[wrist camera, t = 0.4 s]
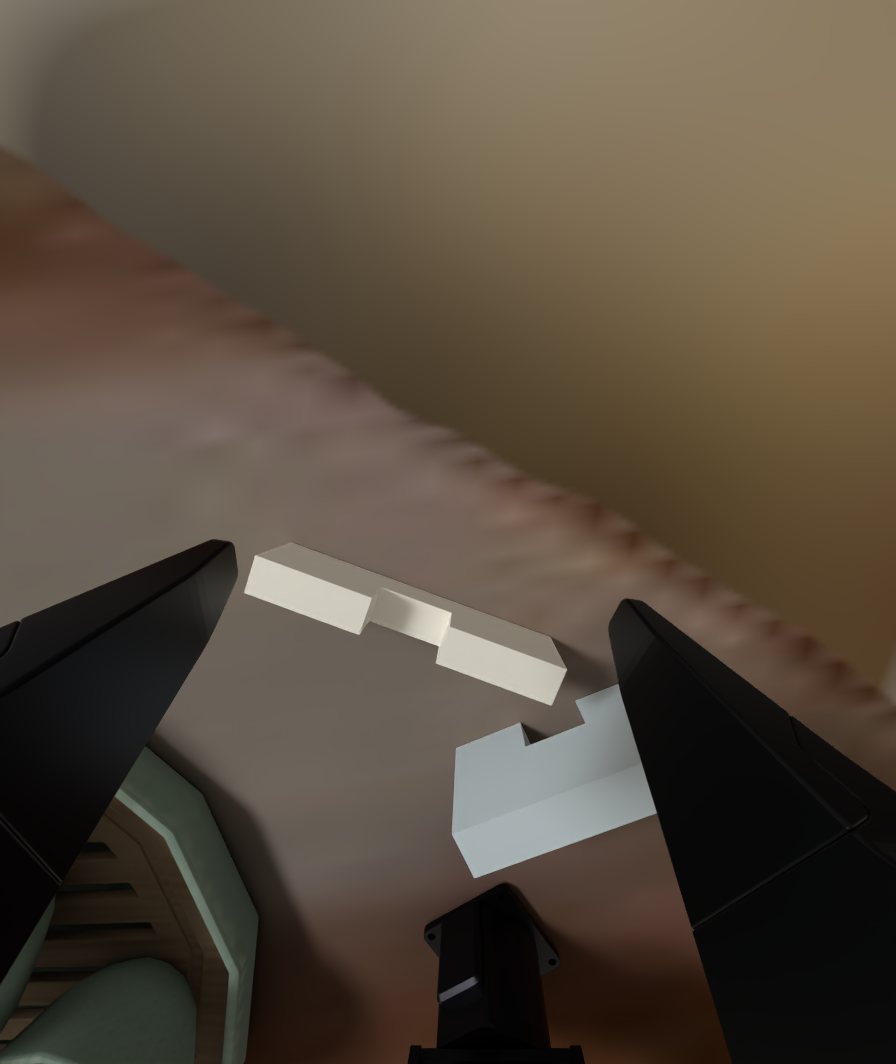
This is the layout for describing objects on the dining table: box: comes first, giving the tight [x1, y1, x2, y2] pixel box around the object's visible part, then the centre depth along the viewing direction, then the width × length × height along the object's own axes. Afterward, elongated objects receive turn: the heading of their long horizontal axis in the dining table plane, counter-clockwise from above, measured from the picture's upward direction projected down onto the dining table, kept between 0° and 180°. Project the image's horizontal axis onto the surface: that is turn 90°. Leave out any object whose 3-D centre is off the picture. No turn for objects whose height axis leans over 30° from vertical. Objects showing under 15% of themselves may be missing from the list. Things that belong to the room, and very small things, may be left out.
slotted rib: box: [244, 542, 567, 706], centre depth 21 cm, size 16×2×4 cm, turn 70°
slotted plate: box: [452, 684, 657, 878], centre depth 21 cm, size 12×2×6 cm, turn 115°
